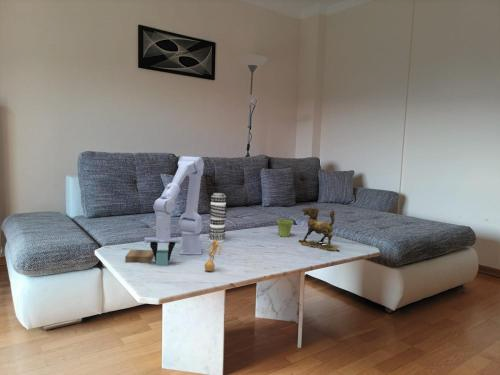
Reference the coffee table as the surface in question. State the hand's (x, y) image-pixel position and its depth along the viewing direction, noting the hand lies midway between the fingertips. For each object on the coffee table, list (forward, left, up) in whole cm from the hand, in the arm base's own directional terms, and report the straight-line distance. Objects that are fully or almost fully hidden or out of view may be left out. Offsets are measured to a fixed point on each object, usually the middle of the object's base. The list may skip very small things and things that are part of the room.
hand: (162, 260), depth 148 cm
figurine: (-76, -33, -2) cm, 83 cm away
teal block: (0, 0, -1) cm, 1 cm away
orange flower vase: (-20, +8, -2) cm, 22 cm away
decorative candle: (-23, -41, -2) cm, 47 cm away
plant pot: (-62, -54, -2) cm, 82 cm away
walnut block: (+10, -6, -2) cm, 12 cm away
